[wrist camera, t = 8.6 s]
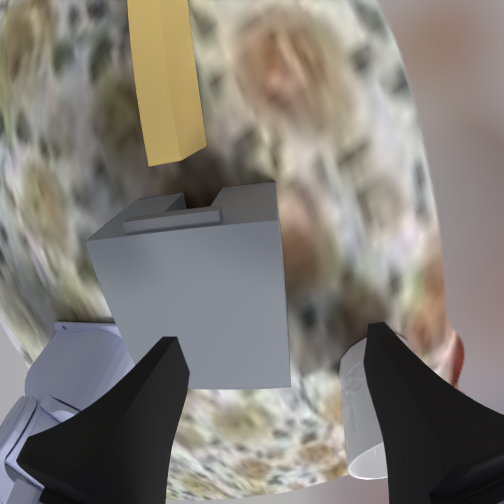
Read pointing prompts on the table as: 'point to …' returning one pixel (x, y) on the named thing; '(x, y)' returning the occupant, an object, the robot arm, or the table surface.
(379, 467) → the white cup
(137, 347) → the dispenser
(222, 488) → the table surface
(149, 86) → the yellow rectangular block
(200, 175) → the table surface
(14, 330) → the table surface
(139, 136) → the table surface
